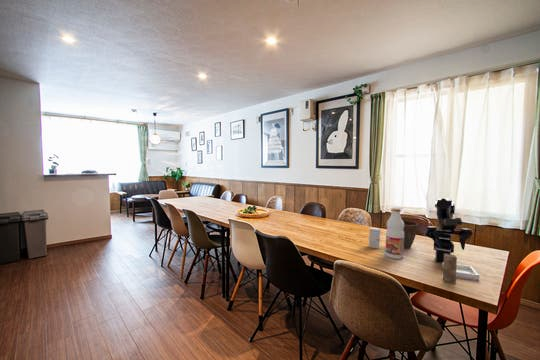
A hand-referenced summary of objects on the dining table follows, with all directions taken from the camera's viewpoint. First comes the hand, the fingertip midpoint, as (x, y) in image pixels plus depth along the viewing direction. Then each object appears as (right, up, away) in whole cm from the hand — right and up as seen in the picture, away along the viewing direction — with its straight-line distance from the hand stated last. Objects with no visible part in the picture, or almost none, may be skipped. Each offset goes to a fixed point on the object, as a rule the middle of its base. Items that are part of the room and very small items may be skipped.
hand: (451, 248), depth 118 cm
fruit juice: (-13, -12, +28) cm, 33 cm away
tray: (+7, -14, +5) cm, 16 cm away
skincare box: (-18, -12, +45) cm, 50 cm away
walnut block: (-4, -14, -4) cm, 15 cm away
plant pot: (+2, -12, +46) cm, 48 cm away
